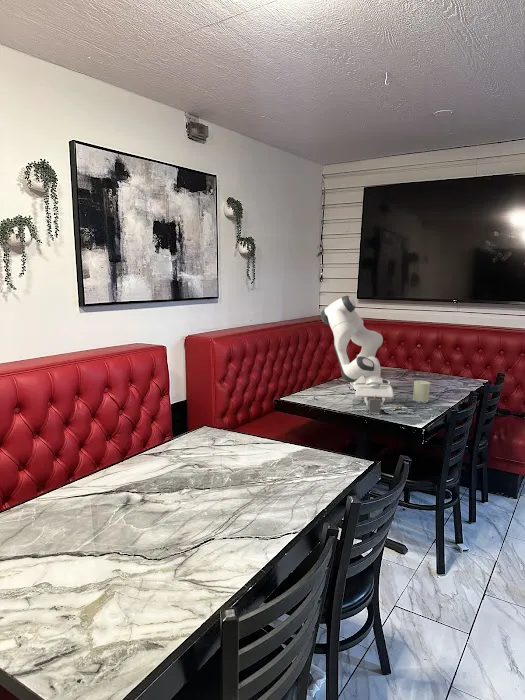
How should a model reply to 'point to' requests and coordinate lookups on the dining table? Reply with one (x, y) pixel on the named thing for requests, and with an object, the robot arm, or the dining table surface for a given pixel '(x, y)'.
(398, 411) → the circuit board
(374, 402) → the block
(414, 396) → the can
